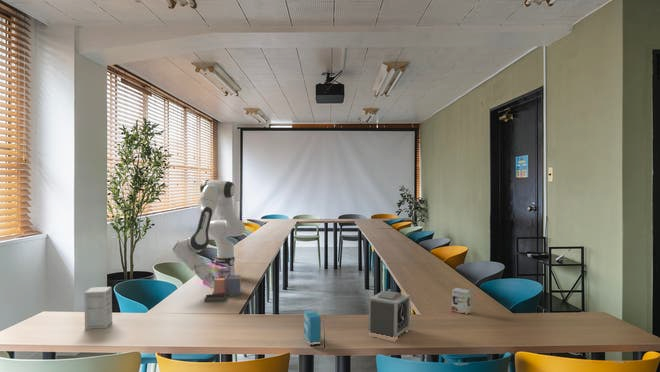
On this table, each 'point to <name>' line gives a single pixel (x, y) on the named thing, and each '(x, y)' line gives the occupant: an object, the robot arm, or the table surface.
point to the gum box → (217, 272)
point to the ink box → (461, 300)
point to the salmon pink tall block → (219, 286)
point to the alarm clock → (389, 313)
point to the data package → (312, 326)
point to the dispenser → (233, 285)
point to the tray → (215, 298)
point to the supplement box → (98, 307)
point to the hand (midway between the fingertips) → (213, 280)
